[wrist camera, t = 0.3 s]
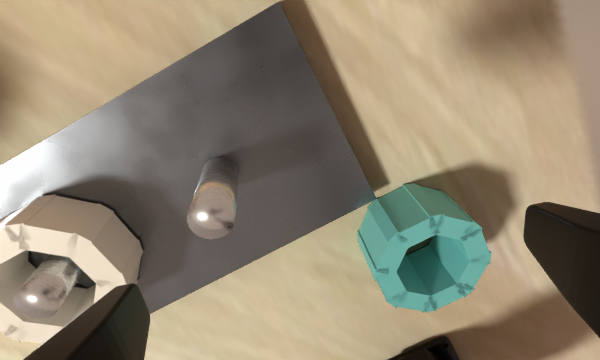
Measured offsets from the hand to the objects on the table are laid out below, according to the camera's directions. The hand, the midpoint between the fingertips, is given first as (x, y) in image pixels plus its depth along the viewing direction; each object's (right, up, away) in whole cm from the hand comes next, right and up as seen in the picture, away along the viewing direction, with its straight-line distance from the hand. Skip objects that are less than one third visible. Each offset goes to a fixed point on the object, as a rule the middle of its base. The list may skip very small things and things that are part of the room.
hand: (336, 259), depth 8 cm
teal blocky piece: (+6, -1, +16) cm, 18 cm away
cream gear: (-14, -2, +13) cm, 19 cm away
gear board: (-9, +1, +13) cm, 16 cm away
